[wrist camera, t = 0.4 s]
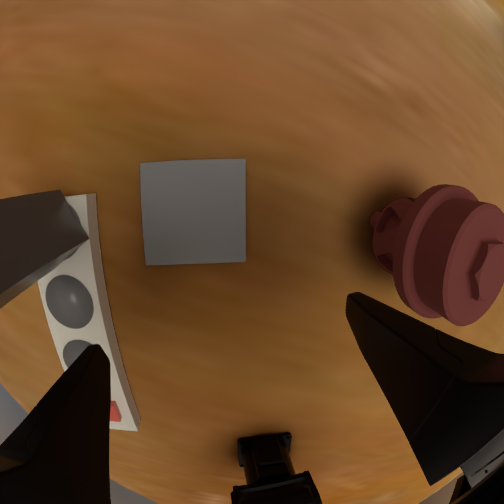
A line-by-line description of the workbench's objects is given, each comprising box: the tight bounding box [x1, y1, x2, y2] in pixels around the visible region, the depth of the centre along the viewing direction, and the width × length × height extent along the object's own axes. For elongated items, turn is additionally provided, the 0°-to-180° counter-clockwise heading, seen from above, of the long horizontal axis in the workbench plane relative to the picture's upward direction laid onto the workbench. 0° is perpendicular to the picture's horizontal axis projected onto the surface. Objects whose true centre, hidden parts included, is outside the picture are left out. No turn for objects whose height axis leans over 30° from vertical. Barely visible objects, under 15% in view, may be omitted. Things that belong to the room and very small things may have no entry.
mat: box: [140, 159, 246, 266], centre depth 21 cm, size 8×8×1 cm
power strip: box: [38, 193, 140, 431], centre depth 21 cm, size 24×6×3 cm, turn 0°
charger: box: [0, 190, 89, 309], centre depth 12 cm, size 5×4×13 cm
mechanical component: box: [370, 184, 504, 326], centre depth 19 cm, size 12×10×10 cm
